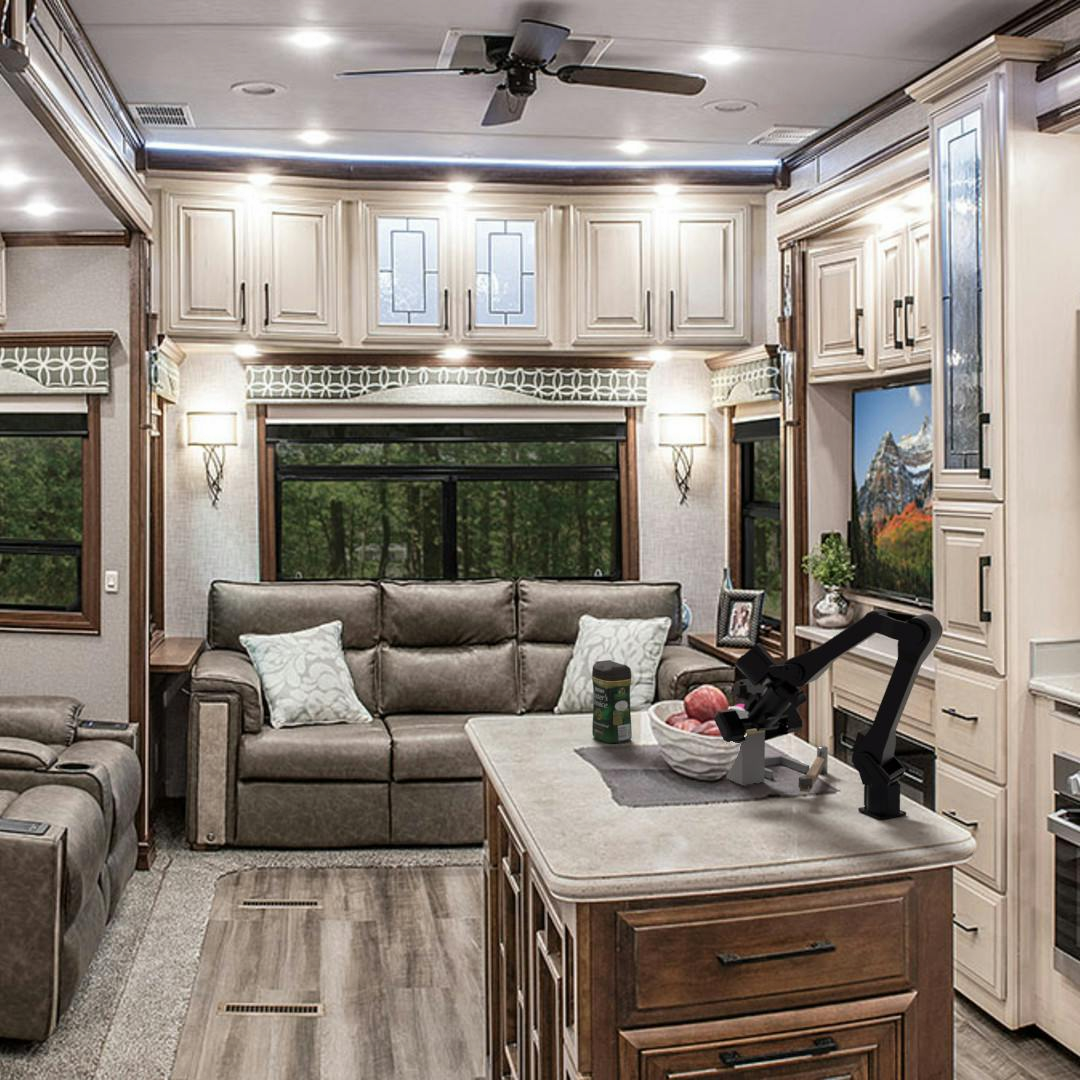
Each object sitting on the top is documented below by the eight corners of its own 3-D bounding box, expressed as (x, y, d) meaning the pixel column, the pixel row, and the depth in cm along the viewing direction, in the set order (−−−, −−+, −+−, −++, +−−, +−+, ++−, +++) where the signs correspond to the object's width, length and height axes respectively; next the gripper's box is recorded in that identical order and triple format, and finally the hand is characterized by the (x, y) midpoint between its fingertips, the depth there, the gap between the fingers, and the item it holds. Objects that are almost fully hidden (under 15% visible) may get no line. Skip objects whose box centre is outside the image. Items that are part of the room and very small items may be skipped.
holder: (809, 772, 261) (809, 765, 261) (769, 779, 257) (769, 771, 257) (781, 762, 270) (781, 754, 270) (742, 768, 266) (743, 760, 266)
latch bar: (827, 763, 259) (827, 752, 259) (811, 792, 239) (811, 780, 238) (814, 762, 260) (814, 751, 260) (797, 791, 240) (797, 779, 239)
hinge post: (829, 773, 261) (829, 747, 260) (821, 774, 260) (821, 749, 259) (823, 770, 263) (823, 745, 262) (814, 772, 262) (814, 746, 261)
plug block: (764, 782, 255) (765, 728, 254) (742, 785, 253) (742, 731, 252) (748, 775, 260) (749, 722, 259) (726, 779, 258) (727, 725, 257)
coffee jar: (586, 737, 294) (586, 659, 292) (615, 732, 298) (615, 656, 296) (608, 746, 285) (607, 666, 284) (637, 741, 289) (636, 663, 288)
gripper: (795, 663, 255) (763, 706, 266) (719, 672, 247) (689, 715, 258) (819, 709, 248) (785, 750, 259) (741, 719, 240) (710, 761, 251)
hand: (742, 743), depth 257 cm, fingers open, 7 cm apart
